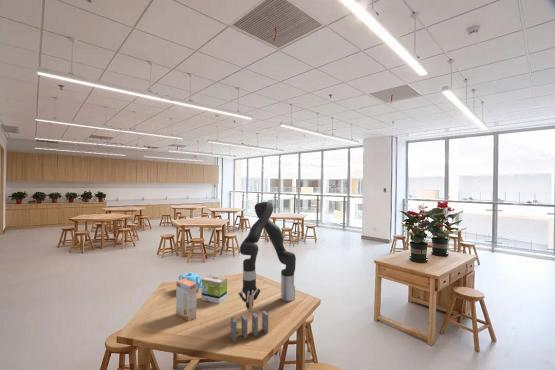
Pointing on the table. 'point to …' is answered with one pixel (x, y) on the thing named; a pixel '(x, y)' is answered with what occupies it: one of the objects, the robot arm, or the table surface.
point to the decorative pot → (192, 278)
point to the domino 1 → (233, 329)
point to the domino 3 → (250, 304)
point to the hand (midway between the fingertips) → (249, 307)
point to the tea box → (214, 289)
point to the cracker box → (186, 299)
